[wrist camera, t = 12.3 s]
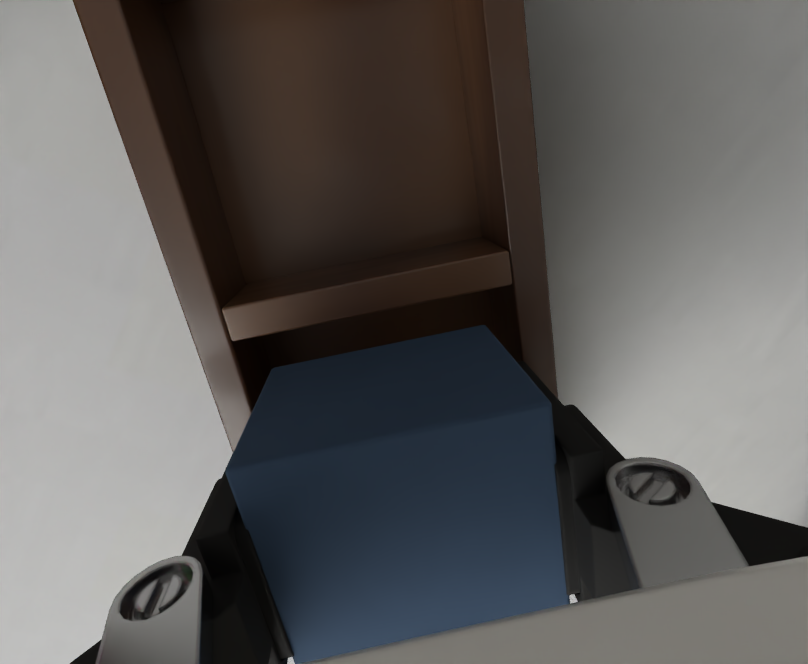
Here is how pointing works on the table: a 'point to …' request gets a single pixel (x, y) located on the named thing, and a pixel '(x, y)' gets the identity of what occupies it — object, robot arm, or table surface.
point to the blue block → (401, 492)
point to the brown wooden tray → (332, 174)
